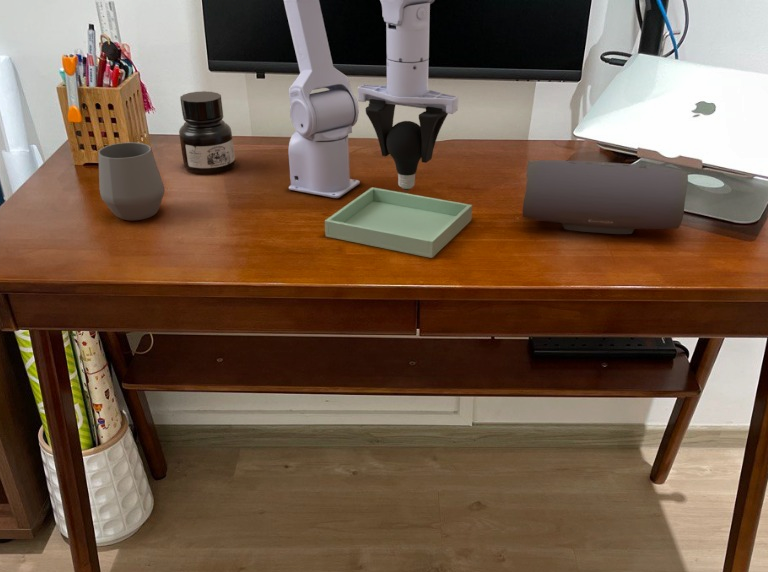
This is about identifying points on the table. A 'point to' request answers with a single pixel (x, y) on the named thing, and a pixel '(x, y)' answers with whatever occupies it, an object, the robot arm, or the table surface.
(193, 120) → the ink bottle
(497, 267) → the table surface
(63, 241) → the table surface
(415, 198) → the tray
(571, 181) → the bluetooth speaker
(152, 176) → the cup
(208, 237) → the table surface
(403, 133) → the light bulb
